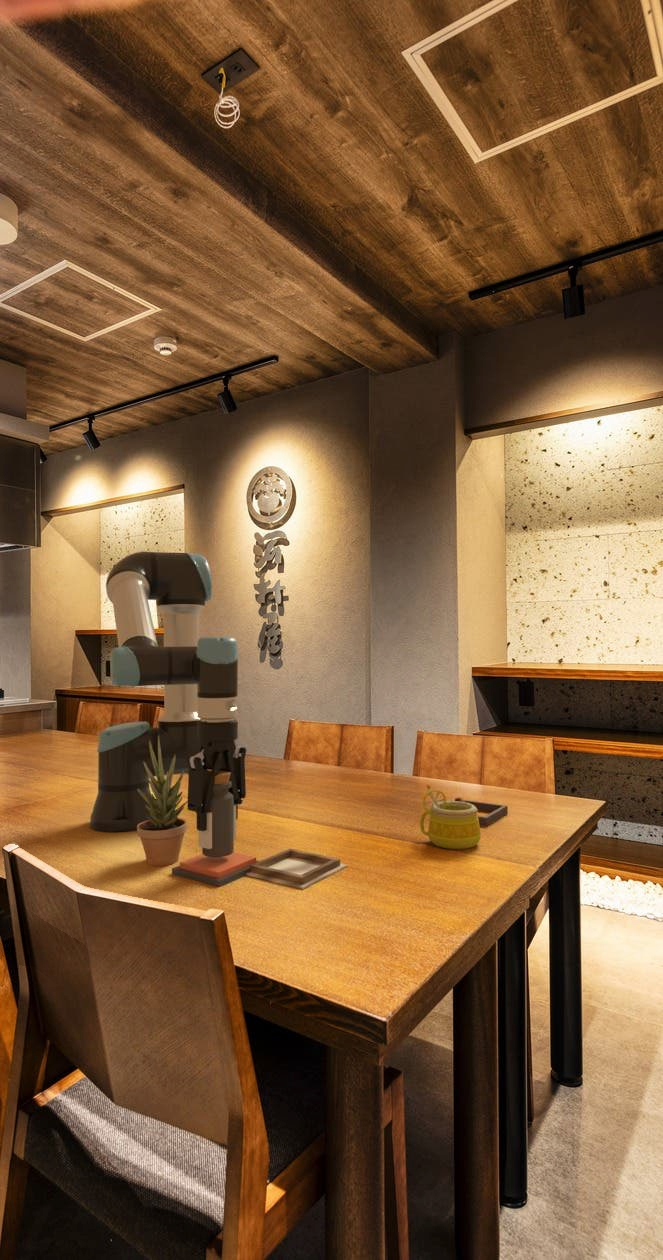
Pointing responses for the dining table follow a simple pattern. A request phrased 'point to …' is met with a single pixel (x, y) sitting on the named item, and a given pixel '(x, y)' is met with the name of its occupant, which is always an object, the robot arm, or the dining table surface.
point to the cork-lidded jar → (221, 817)
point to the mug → (451, 823)
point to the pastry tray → (496, 810)
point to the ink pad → (215, 868)
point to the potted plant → (162, 816)
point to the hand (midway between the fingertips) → (217, 842)
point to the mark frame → (296, 868)
